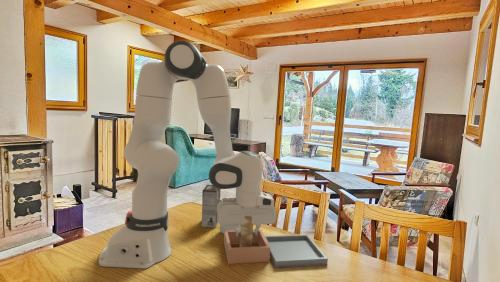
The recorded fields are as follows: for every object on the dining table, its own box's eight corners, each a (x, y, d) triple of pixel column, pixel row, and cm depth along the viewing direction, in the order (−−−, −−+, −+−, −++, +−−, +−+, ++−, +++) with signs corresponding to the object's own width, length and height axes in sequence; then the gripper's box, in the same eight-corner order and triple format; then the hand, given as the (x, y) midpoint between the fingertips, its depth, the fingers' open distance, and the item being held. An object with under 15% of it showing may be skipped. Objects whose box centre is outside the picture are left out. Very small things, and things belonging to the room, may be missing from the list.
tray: (275, 267, 94) (275, 261, 93) (262, 241, 111) (263, 236, 111) (327, 264, 97) (327, 258, 97) (307, 239, 115) (307, 234, 114)
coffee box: (205, 218, 131) (206, 184, 129) (219, 219, 131) (221, 184, 128) (201, 226, 122) (202, 189, 120) (216, 228, 121) (217, 191, 119)
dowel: (240, 255, 100) (242, 216, 99) (238, 249, 105) (240, 212, 103) (252, 254, 101) (254, 216, 99) (250, 248, 105) (252, 211, 104)
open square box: (228, 263, 95) (228, 249, 94) (224, 243, 108) (224, 230, 108) (269, 261, 97) (270, 247, 97) (260, 241, 111) (261, 229, 110)
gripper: (219, 201, 95) (217, 240, 97) (278, 200, 99) (276, 238, 101) (217, 195, 102) (216, 232, 103) (273, 194, 105) (271, 230, 107)
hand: (246, 235), depth 102 cm, fingers closed on dowel, 4 cm apart
